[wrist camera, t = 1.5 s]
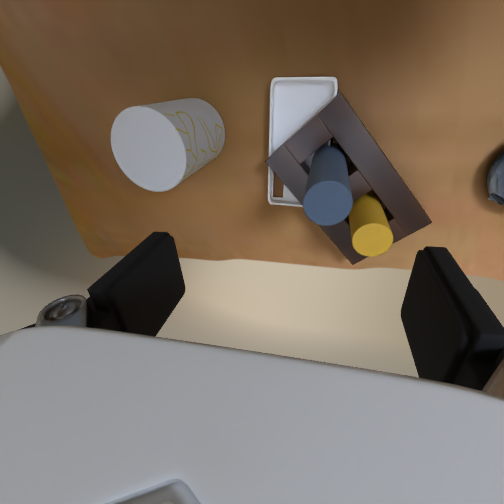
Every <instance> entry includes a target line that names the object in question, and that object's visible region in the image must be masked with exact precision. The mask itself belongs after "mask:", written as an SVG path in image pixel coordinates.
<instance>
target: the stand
mask: <svg viewBox="0 0 504 504" xmlns="http://www.w3.org/2000/svg"><path fill="white" fill-rule="evenodd" d="M332 137H334V138H335V140H336V141H337V142H338V144H339V145H340V146H341V148H342V149H343V150H344V152H345V153H346V154H347V156H348V157H349V158H350V160H351V161H352V162H353V165H351V166H350V167H349V168H347V171H348V176H349V182H350V188H351V193H352V199H353V202H354V201H355V200H357V199H358V198H360V197H361V196H363V195H364V194H366V193H367V192H369V191H370V190H372V189H373V190H374V192H375V193H376V194H377V196H378V197H379V198H380V200H381V201H382V202H383V204H384V205H385V206H386V208H387V209H386V210H385V211H384V213H385V216H386V219H387V221H388V224H389V226H390V229H391V231H392V234H393V243H395V242H397V241H399V240H400V239H402V238H404V237H406V236H407V235H410V234H412V233H414V232H416V231H417V230H419V229H421V228H423V227H425V226H427V225H429V224H431V223H432V221H431V220H430V218H429V217H428V215H427V214H426V213H425V211H424V210H423V208H422V207H421V205H420V204H419V203H418V201H417V200H416V198H415V197H414V196H413V194H412V193H411V191H410V190H409V188H408V187H407V186H406V184H405V183H404V181H403V180H402V179H401V177H400V176H399V174H398V173H397V171H396V170H395V169H394V167H393V166H392V164H391V163H390V162H389V160H388V159H387V157H386V156H385V154H384V153H383V152H382V150H381V149H380V147H379V146H378V145H377V143H376V142H375V140H374V139H373V137H372V136H371V135H370V133H369V132H368V130H367V129H366V128H365V126H364V125H363V123H362V122H361V120H360V119H359V118H358V116H357V115H356V113H355V112H354V111H353V109H352V108H351V106H350V105H349V103H348V102H347V101H346V99H345V98H344V96H343V95H342V94H341V92H338V93H337V95H336V96H335V97H333V98H332V99H331V100H330V101H329V102H328V103H327V104H326V105H324V106H323V107H322V108H321V109H320V110H319V111H318V112H317V113H316V114H315V115H314V116H312V117H311V118H310V119H309V120H308V121H307V122H306V123H305V124H304V125H303V126H302V127H300V128H299V129H298V130H297V131H296V132H295V133H294V134H293V135H292V136H291V137H290V138H288V139H287V140H286V141H285V142H284V143H283V144H282V145H281V146H280V147H279V148H278V149H276V150H275V151H274V152H273V153H272V154H271V156H269V157H268V159H267V160H266V161H265V162H266V164H267V165H268V166H269V167H270V168H271V169H272V171H273V172H274V173H275V174H276V175H277V176H278V178H279V179H280V180H281V181H282V182H283V184H284V185H285V186H286V187H287V188H288V189H289V191H290V192H291V193H292V194H293V195H294V197H295V198H296V199H297V200H298V201H299V202H300V204H301V205H302V206H303V199H304V194H305V190H306V185H307V181H308V176H309V172H310V168H309V167H308V165H307V164H306V163H305V162H304V161H305V160H306V159H307V158H308V157H310V156H311V155H312V154H313V153H314V152H316V151H317V150H318V149H319V148H320V147H322V146H323V145H324V144H325V143H326V142H328V141H329V140H330V139H331V138H332ZM318 225H319V224H318ZM319 226H320V227H321V228H322V229H323V231H324V232H325V233H326V234H327V235H328V237H329V238H330V239H331V240H332V241H333V242H334V244H335V245H336V246H337V247H338V248H339V249H340V251H341V252H342V253H343V254H344V255H345V257H346V258H347V259H348V260H349V261H350V262H351V264H352V265H353V264H355V263H357V262H359V261H361V260H363V259H365V258H367V257H369V256H364V255H361V254H360V253H358V252H357V251H356V250H355V249H354V247H353V245H352V238H351V231H350V223H349V215H348V216H347V217H346V218H345V219H344V220H343V221H341V222H339V223H337V224H334V225H329V226H325V225H319ZM393 243H392V244H393Z"/></svg>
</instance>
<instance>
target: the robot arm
mask: <svg viewBox="0 0 504 504" xmlns="http://www.w3.org/2000/svg"><path fill="white" fill-rule="evenodd" d="M87 290H88V292H89V295H90V297H89V298H88V299H87V300H86V298H85V297H84V296H82V295H69V296H65V297H62V298H59V299H57V300H55V301H53V302H51V303H49V304H48V305H47V306H45V307H44V308H43V309H42V310H41V311H40V313H39V315H38V317H37V321H36V323H35V324H33V325H30V326H27V327H24V328H22V329H19V330H16V331H12V332H9V333H6V334H2V335H0V504H504V327H503V326H502V325H501V323H500V322H499V320H498V319H497V318H496V316H495V315H494V313H493V312H492V310H491V309H490V308H489V306H488V305H487V303H486V302H485V300H484V299H483V298H482V296H481V295H480V293H479V292H478V291H477V290H476V289H475V288H474V287H473V285H472V284H471V283H470V281H469V280H468V278H467V277H466V275H465V274H464V273H463V271H462V270H461V268H460V267H459V265H458V264H457V263H456V261H455V260H454V258H453V257H452V255H451V254H450V252H449V251H448V250H447V248H445V247H428V246H426V247H425V248H424V249H423V250H419V251H418V252H417V255H416V258H415V262H414V265H413V269H412V273H411V276H410V280H409V283H408V287H407V290H406V294H405V297H404V301H403V304H402V308H401V318H402V322H403V326H404V329H405V332H406V336H407V339H408V342H409V345H410V349H411V352H412V355H413V359H414V362H415V365H416V369H417V372H418V375H419V378H417V377H412V376H407V375H400V374H394V373H387V372H382V371H376V370H370V369H363V368H357V367H351V366H344V365H338V364H331V363H326V362H319V361H312V360H306V359H300V358H294V357H287V356H281V355H274V354H268V353H261V352H254V351H248V350H242V349H235V348H228V347H221V346H215V345H209V344H201V343H195V342H188V341H182V340H175V339H168V338H161V337H155V336H156V335H157V333H158V332H159V330H160V329H161V327H162V326H163V325H164V323H165V322H166V320H167V318H168V317H169V316H170V314H171V313H172V311H173V310H174V308H175V307H176V305H177V304H178V302H179V301H180V299H181V298H182V296H183V295H184V293H185V284H184V279H183V275H182V271H181V267H180V262H179V258H178V254H177V250H176V245H175V241H174V238H173V237H172V236H170V234H169V233H168V232H153V233H152V234H151V235H149V236H148V237H147V238H146V239H145V240H144V241H143V242H141V243H140V244H139V245H138V246H137V247H136V248H134V249H133V250H132V251H131V252H130V253H129V254H127V255H126V256H125V257H124V258H123V259H122V260H121V261H120V262H118V263H117V264H116V265H115V266H114V267H112V268H111V269H110V270H109V271H108V272H107V273H106V274H104V275H103V276H102V277H101V278H100V279H99V280H97V281H96V282H95V283H94V284H93V285H92V286H90V287H89V288H88V289H87Z"/></svg>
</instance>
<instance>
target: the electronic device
mask: <svg viewBox="0 0 504 504" xmlns="http://www.w3.org/2000/svg"><path fill="white" fill-rule="evenodd" d="M487 188H488V192H489V195H490V198H488V199H489V200H493V201H495V202H497V203H499V204H501V205H504V151H502V152H501V153H500V154H499V155H498V157H497V158H496V159H495V160H494V162H493V163H492V165H491V167H490V169H489V172H488V175H487Z"/></svg>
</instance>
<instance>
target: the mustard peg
mask: <svg viewBox="0 0 504 504" xmlns="http://www.w3.org/2000/svg"><path fill="white" fill-rule="evenodd" d="M349 223H350V231H351V238H352V245H353V247H354V249H355V250H356V251H357V252H358V253H360V254H361V255H364V256H370V257H372V256H378V255H381V254H383V253H385V252H386V251H387V250H388V249H389V248H390V247H391V245H392V243H393V234H392V231H391V229H390V226H389V224H388V221H387V219H386V216H385V213H384V211H383V208H382V206H381V203H380V201H379V198H378V196H377V195H376V194H375V193H373V192H371V191H369V192H367V193H366V194H364V195H363V196H361V197H360V198H358V199H357V200H355V201H354V202H353V205H352V209H351V211H350V213H349Z"/></svg>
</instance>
